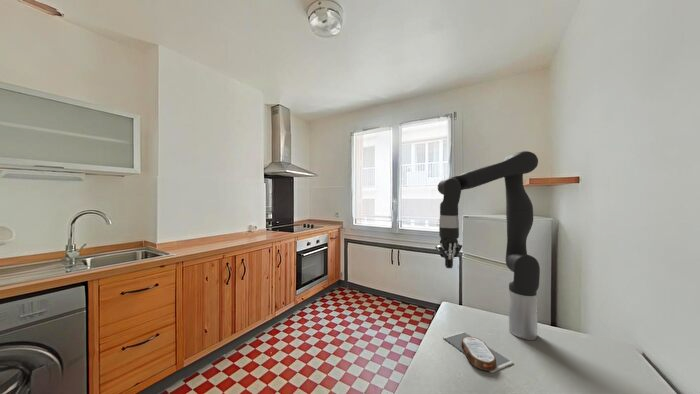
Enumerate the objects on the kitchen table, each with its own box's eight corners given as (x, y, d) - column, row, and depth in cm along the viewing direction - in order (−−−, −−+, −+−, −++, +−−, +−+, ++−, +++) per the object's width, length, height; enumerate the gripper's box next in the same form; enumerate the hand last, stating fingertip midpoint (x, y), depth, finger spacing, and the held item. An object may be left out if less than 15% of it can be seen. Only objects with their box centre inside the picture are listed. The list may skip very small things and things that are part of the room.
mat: (463, 332, 97) (463, 331, 97) (513, 363, 78) (513, 362, 78) (443, 338, 93) (443, 337, 93) (491, 373, 74) (491, 371, 74)
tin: (474, 369, 75) (501, 373, 74) (474, 359, 75) (502, 363, 74) (457, 341, 90) (480, 344, 89) (458, 333, 90) (481, 336, 89)
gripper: (453, 224, 103) (453, 263, 103) (430, 225, 98) (430, 267, 98) (468, 226, 96) (468, 268, 96) (443, 227, 91) (443, 272, 91)
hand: (448, 267), depth 97 cm, fingers closed
